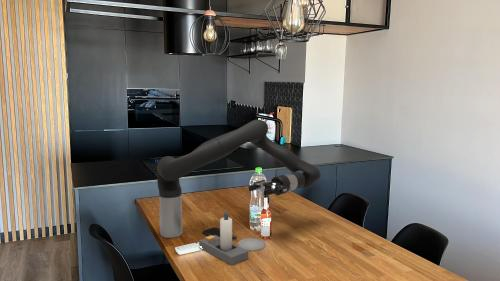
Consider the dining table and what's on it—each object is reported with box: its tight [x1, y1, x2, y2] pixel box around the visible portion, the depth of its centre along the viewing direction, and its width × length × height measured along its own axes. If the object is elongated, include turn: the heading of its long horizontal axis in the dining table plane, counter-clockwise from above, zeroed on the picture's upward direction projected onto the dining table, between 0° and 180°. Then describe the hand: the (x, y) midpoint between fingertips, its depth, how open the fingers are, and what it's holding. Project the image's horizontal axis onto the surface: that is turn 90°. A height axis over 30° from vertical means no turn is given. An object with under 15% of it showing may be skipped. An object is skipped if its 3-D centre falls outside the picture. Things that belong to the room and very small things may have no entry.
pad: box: [237, 237, 266, 252], centre depth 158 cm, size 11×11×1 cm
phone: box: [201, 226, 238, 242], centre depth 167 cm, size 8×1×15 cm
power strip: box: [198, 235, 249, 266], centre depth 151 cm, size 20×8×4 cm, turn 42°
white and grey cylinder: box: [219, 210, 233, 252], centre depth 148 cm, size 4×4×17 cm
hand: (256, 190), depth 156 cm, fingers open, 8 cm apart
